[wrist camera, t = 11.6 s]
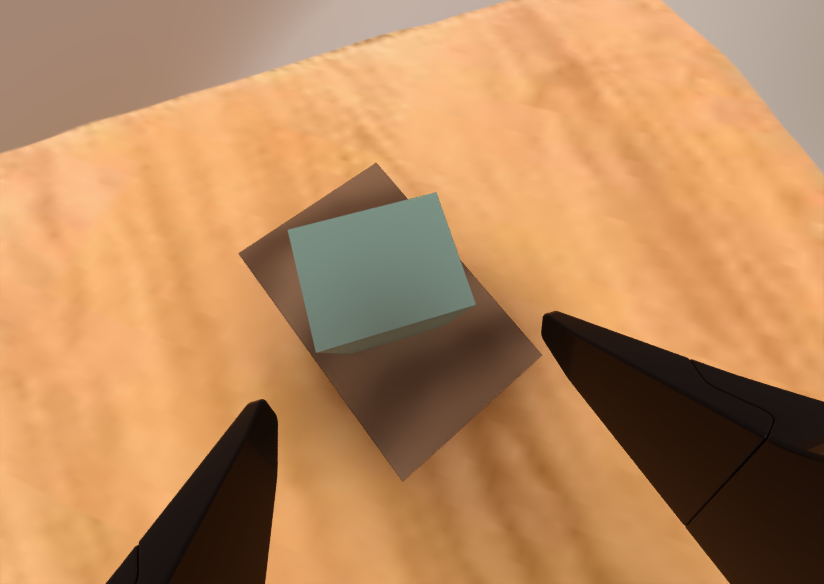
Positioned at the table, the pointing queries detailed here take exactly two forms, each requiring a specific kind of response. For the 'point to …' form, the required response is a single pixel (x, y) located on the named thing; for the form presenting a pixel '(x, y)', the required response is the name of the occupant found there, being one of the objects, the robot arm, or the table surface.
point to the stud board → (400, 344)
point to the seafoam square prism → (379, 275)
